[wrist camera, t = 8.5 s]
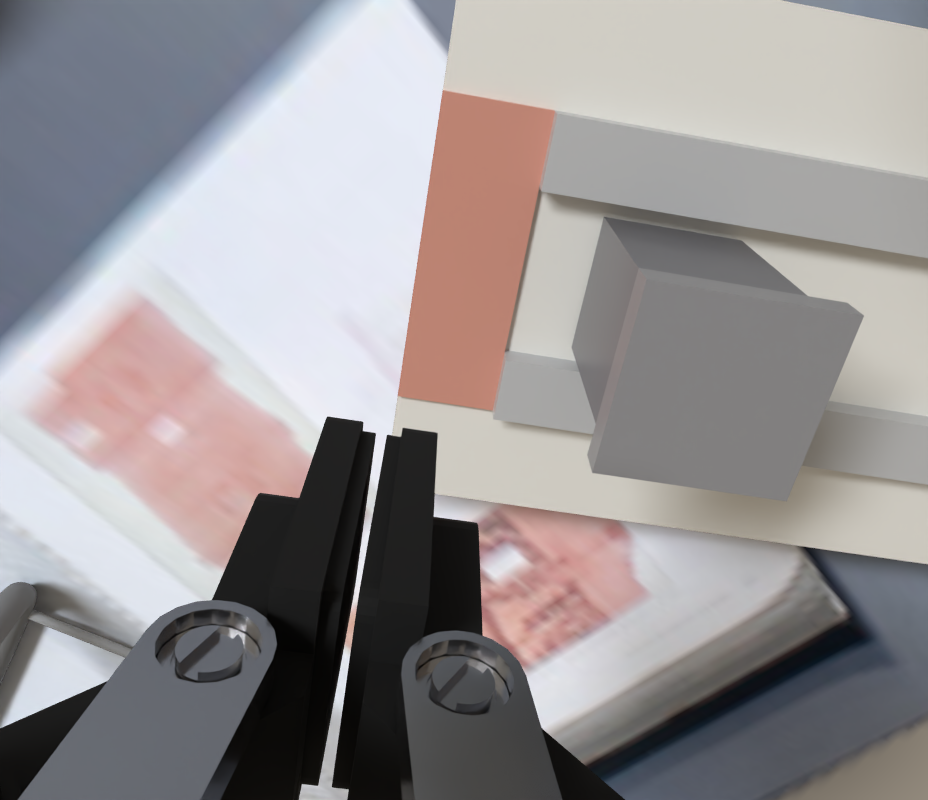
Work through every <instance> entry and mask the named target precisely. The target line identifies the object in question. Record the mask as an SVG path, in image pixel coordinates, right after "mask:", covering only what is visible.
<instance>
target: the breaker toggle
mask: <svg viewBox="0 0 928 800" xmlns="http://www.w3.org/2000/svg"><path fill="white" fill-rule="evenodd" d="M863 317H864V315H863V314H861V313H860V312H859V311H857V310H856V309H855V308H854V307H852V306H851V305H850V304H848V303H846V302H840V301H834V300H828V299H822V298H816V297H810V296H807V295H806V294H805V293H804V292H802V291H801V290H800V289H799V288H798V287H797V286H795V285H794V284H793V283H792V282H791V281H789V280H788V279H787V278H786V277H785V276H783V275H782V274H781V273H780V272H779V271H777V270H776V269H775V268H774V267H773V266H771V265H770V264H769V263H768V262H767V261H765V260H764V259H763V258H762V257H761V256H760V255H758V254H757V253H756V252H755V251H754V250H752V249H751V248H750V247H749V246H748V245H746V244H745V243H744V242H743V241H742V240H737V239H731V238H725V237H720V236H714V235H708V234H702V233H696V232H690V231H685V230H679V229H673V228H667V227H661V226H655V225H650V224H644V223H638V222H632V221H626V220H620V219H615V218H609V217H604V218H603V222H602V226H601V230H600V234H599V238H598V242H597V246H596V250H595V254H594V259H593V263H592V267H591V271H590V275H589V279H588V283H587V287H586V291H585V295H584V299H583V303H582V307H581V311H580V315H579V319H578V323H577V327H576V331H575V335H574V339H573V343H572V351H573V354H574V357H575V360H576V363H577V366H578V369H579V373H580V376H581V379H582V382H583V385H584V388H585V392H586V395H587V398H588V401H589V404H590V407H591V410H592V414H593V417H594V420H595V423H596V425H595V429H594V432H593V436H592V439H591V443H590V447H589V450H588V454H587V456H588V460H589V463H590V467H591V471H592V473H596V474H603V475H610V476H617V477H623V478H630V479H637V480H644V481H651V482H657V483H664V484H671V485H678V486H685V487H692V488H698V489H705V490H712V491H719V492H726V493H732V494H739V495H746V496H753V497H760V498H767V499H773V500H780V501H787V499H788V497H789V495H790V492H791V490H792V487H793V485H794V483H795V480H796V478H797V476H798V473H799V471H800V468H801V466H802V464H803V461H804V459H805V456H806V454H807V452H808V449H809V447H810V444H811V442H812V440H813V437H814V435H815V432H816V430H817V428H818V425H819V423H820V420H821V418H822V416H823V413H824V411H825V408H826V406H827V404H828V401H829V399H830V396H831V394H832V392H833V389H834V387H835V384H836V382H837V380H838V377H839V375H840V372H841V370H842V368H843V365H844V363H845V360H846V358H847V356H848V353H849V351H850V348H851V346H852V344H853V341H854V339H855V336H856V334H857V332H858V329H859V327H860V324H861V322H862V320H863Z"/></svg>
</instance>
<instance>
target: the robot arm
mask: <svg viewBox="0 0 928 800" xmlns="http://www.w3.org/2000/svg"><path fill="white" fill-rule="evenodd" d="M375 436H376V433H371V432H365V431H363V422H361V421H354V420H347V419H340V418H334V417H327V418H326V421H325V424H324V427H323V430H322V433H321V436H320V439H319V442H318V444H317V447H316V450H315V453H314V456H313V459H312V462H311V465H310V468H309V471H308V474H307V477H306V480H305V483H304V486H303V489H302V492H301V495H300V498H293V497H286V496H279V495H272V494H264V493H260V494H258V496H257V497H256V499H255V501H254V504H253V506H252V508H251V511H250V513H249V515H248V518H247V520H246V522H245V525H244V527H243V529H242V532H241V534H240V536H239V539H238V541H237V543H236V546H235V548H234V550H233V553H232V555H231V557H230V559H229V562H228V564H227V566H226V569H225V571H224V573H223V576H222V578H221V580H220V583H219V585H218V587H217V590H216V592H215V594H214V597H213V599H212V600H211V601H198V602H194V603H190V604H187V605H183V606H180V607H177V608H175V609H173V610H171V611H170V612H168V613H166V614H164V615H162V616H160V617H159V618H158V619H157V620H156V621H155V622H154V623H153V624H152V625H151V626H150V627H149V628H148V629H147V630H146V631H145V633H144V634H143V635H142V637H141V638H140V639H139V641H138V642H137V643H136V645H135V646H134V647H133V648H132V650H131V651H130V652H129V654H128V655H127V656H126V658H125V659H124V660H123V662H122V663H121V664H120V666H119V667H118V668H117V670H116V671H115V672H114V674H113V675H112V676H111V677H110V679H109V680H108V681H107V682H105V683H102V684H100V685H98V686H96V687H93V688H91V689H89V690H86V691H84V692H82V693H80V694H77V695H75V696H73V697H71V698H68V699H66V700H64V701H62V702H59V703H57V704H55V705H52V706H50V707H48V708H46V709H43V710H41V711H39V712H37V713H34V714H32V715H30V716H28V717H25V718H23V719H21V720H18V721H16V722H14V723H12V724H9V725H7V726H5V727H3V728H0V800H299V795H300V790H301V785H302V784H307V785H316V786H318V783H319V778H320V773H321V768H322V762H323V757H324V752H325V746H326V741H327V736H328V730H329V725H330V719H331V714H332V709H333V703H334V698H335V692H336V687H337V682H338V676H339V671H340V665H341V660H342V655H343V649H344V644H345V639H346V633H347V628H348V622H349V617H350V612H351V606H352V601H353V595H354V589H355V583H356V576H357V569H358V561H359V554H360V547H361V539H362V532H363V525H364V517H365V510H366V503H367V495H368V488H369V481H370V474H371V466H372V459H373V452H374V444H375ZM437 439H438V433H436V432H429V431H422V430H415V429H409V428H402V434H401V437H399V436H392V435H387V438H386V444H385V450H384V455H383V461H382V467H381V472H380V478H379V484H378V489H377V495H376V501H375V506H374V512H373V518H372V523H371V529H370V535H369V540H368V546H367V552H366V557H365V563H364V569H363V575H362V580H361V586H360V592H359V598H358V605H357V611H356V618H355V625H354V632H353V640H352V647H351V654H350V661H349V668H348V675H347V682H346V689H345V697H344V704H343V711H342V718H341V725H340V732H339V739H338V747H337V754H336V761H335V768H334V775H333V782H332V787H334V788H343V789H349V792H348V799H347V800H625V799H623V798H622V797H621V796H620V795H619V794H618V793H616V792H615V791H614V790H613V789H612V788H611V787H609V786H608V785H607V784H606V783H605V782H604V781H602V780H601V779H600V778H599V777H598V776H597V775H595V774H594V773H593V772H592V771H591V770H590V769H588V768H587V767H586V766H585V765H584V764H583V763H581V762H580V761H579V760H578V759H577V758H576V757H574V756H573V755H572V754H571V753H570V752H569V751H567V750H566V749H565V748H564V747H563V746H562V745H560V744H559V743H558V742H557V741H556V740H555V739H553V738H552V737H551V736H550V735H549V734H548V733H546V732H545V731H544V730H543V729H542V728H541V725H540V722H539V718H538V715H537V712H536V708H535V705H534V701H533V698H532V695H531V691H530V688H529V684H528V681H527V678H526V675H525V673H524V671H523V669H522V667H521V665H520V663H519V661H518V660H517V659H516V658H515V657H514V656H513V655H512V654H511V653H510V652H509V651H508V649H506V648H505V647H503V646H502V645H500V644H498V643H497V642H495V641H494V640H492V639H490V638H487V637H484V636H483V635H482V609H481V582H480V556H479V530H478V524H477V523H474V522H467V521H459V520H452V519H445V518H438V517H433V515H434V496H435V477H436V458H437Z"/></svg>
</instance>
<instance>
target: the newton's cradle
mask: <svg viewBox="0 0 928 800" xmlns="http://www.w3.org/2000/svg"><path fill="white" fill-rule="evenodd" d="M36 598H37V593H36V590H35V588H34V587H33V586H32V585H30V584H28V583H23V582H17V583H13V584H11V585H9V586H8V587H7V588H6V589H4V590H3V591H2V592H1V593H0V684H1V682H2V680H3V678H4V675H5V673H6V671H7V668H8V666H9V664H10V662H11V659H12V657H13V655H14V653H15V650H16V648H17V646H18V643H19V641H20V639H21V637H22V634H23V632H24V630H25V628H26V625H27V623H28V621H29V620H32V621H34V622H37V623H39V624H42V625H44V626H47V627H49V628H52V629H55V630H57V631H60V632H62V633H65V634H67V635H70V636H72V637H75V638H77V639H80V640H82V641H85V642H87V643H90V644H92V645H95V646H98V647H100V648H103V649H105V650H108V651H110V652H113V653H115V654H118V655H120V656H123V657H125V658H126V656H127V655H128V654H129V652H130V651H131V650H132V649H131V648H128V647H126V646H123V645H121V644H118V643H116V642H113V641H111V640H108V639H106V638H103V637H101V636H98V635H96V634H93V633H91V632H88V631H86V630H83V629H81V628H78V627H76V626H73V625H70V624H68V623H65V622H63V621H60V620H58V619H55V618H53V617H50V616H48V615H45V614H43V613H40V612H38V611H35V610H33V609H34V606H35V604H36Z"/></svg>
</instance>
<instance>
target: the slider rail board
mask: <svg viewBox="0 0 928 800" xmlns="http://www.w3.org/2000/svg"><path fill="white" fill-rule="evenodd" d="M604 217H609V218H615V219H620V220H626V221H632V222H638V223H644V224H650V225H655V226H661V227H667V228H673V229H679V230H685V231H690V232H696V233H702V234H708V235H714V236H720V237H725V238H731V239H737V240H742V241H743V242H744V243H745V244H746V245H748V246H749V247H750V248H751V249H752V250H754V251H755V252H756V253H757V254H758V255H760V256H761V257H762V258H763V259H764V260H765V261H767V262H768V263H769V264H770V265H771V266H773V267H774V268H775V269H776V270H777V271H779V272H780V273H781V274H782V275H783V276H785V277H786V278H787V279H788V280H789V281H791V282H792V283H793V284H794V285H795V286H797V287H798V288H799V289H800V290H801V291H802V292H804V293H805V294H806V295H807V296H810V297H816V298H822V299H828V300H834V301H840V302H846V303H848V304H850V305H851V306H852V307H854V308H855V309H856V310H857V311H859V312H860V313H861V314H863V315H864V317H863V320H862V322H861V324H860V327H859V329H858V332H857V334H856V336H855V339H854V341H853V344H852V346H851V348H850V351H849V353H848V356H847V358H846V360H845V363H844V365H843V368H842V370H841V372H840V375H839V377H838V380H837V382H836V384H835V387H834V389H833V392H832V394H831V396H830V399H829V401H828V404H827V406H826V408H825V411H824V413H823V416H822V418H821V420H820V423H819V425H818V428H817V430H816V432H815V435H814V437H813V440H812V442H811V444H810V447H809V449H808V452H807V454H806V456H805V459H804V461H803V464H802V466H801V468H800V471H799V473H798V476H797V478H796V480H795V483H794V485H793V487H792V490H791V492H790V495H789V497H788V499H787V501H780V500H773V499H767V498H760V497H753V496H746V495H739V494H732V493H726V492H719V491H712V490H705V489H698V488H692V487H685V486H678V485H671V484H664V483H657V482H651V481H644V480H637V479H630V478H623V477H617V476H610V475H603V474H596V473H592V471H591V467H590V463H589V460H588V456H587V454H588V450H589V447H590V443H591V439H592V436H593V432H594V429H595V425H596V423H595V420H594V417H593V414H592V410H591V407H590V404H589V401H588V398H587V395H586V392H585V388H584V385H583V382H582V379H581V376H580V373H579V369H578V366H577V363H576V360H575V357H574V354H573V351H572V343H573V339H574V335H575V331H576V327H577V323H578V319H579V315H580V311H581V307H582V303H583V299H584V295H585V291H586V287H587V283H588V279H589V275H590V271H591V267H592V263H593V259H594V254H595V250H596V246H597V242H598V238H599V234H600V230H601V226H602V222H603V218H604ZM402 428H409V429H415V430H422V431H429V432H436V433H438V439H437V458H436V477H435V494H439V495H446V496H453V497H460V498H467V499H474V500H481V501H488V502H495V503H502V504H509V505H516V506H523V507H530V508H537V509H544V510H551V511H558V512H565V513H572V514H579V515H586V516H593V517H600V518H607V519H614V520H621V521H628V522H635V523H642V524H649V525H656V526H663V527H670V528H677V529H684V530H691V531H698V532H705V533H712V534H719V535H726V536H733V537H740V538H747V539H754V540H761V541H768V542H775V543H782V544H789V545H796V546H804V547H811V548H818V549H825V550H832V551H839V552H846V553H853V554H860V555H867V556H874V557H881V558H888V559H895V560H902V561H909V562H916V563H923V564H928V29H924V28H919V27H914V26H909V25H904V24H899V23H894V22H889V21H883V20H878V19H873V18H868V17H863V16H858V15H853V14H848V13H843V12H837V11H832V10H827V9H822V8H817V7H812V6H807V5H802V4H797V3H792V2H786V1H781V0H456V5H455V12H454V19H453V25H452V32H451V39H450V46H449V53H448V59H447V66H446V73H445V80H444V86H443V93H442V99H441V106H440V113H439V120H438V127H437V133H436V140H435V147H434V154H433V160H432V167H431V174H430V181H429V188H428V194H427V201H426V208H425V215H424V222H423V228H422V235H421V242H420V249H419V255H418V262H417V269H416V276H415V283H414V289H413V296H412V303H411V310H410V316H409V323H408V330H407V337H406V344H405V350H404V357H403V364H402V371H401V378H400V384H399V391H398V398H397V405H396V412H395V419H394V425H393V432H392V436H399V437H401V434H402Z"/></svg>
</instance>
